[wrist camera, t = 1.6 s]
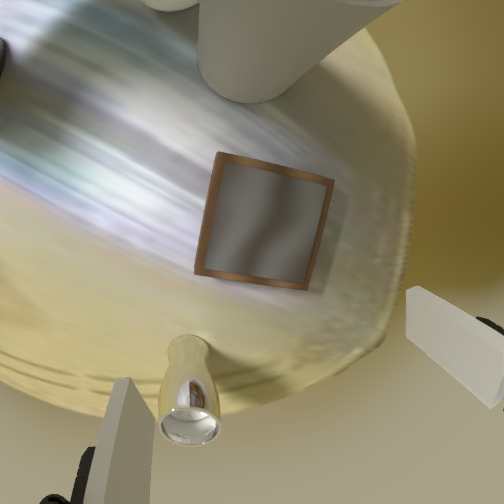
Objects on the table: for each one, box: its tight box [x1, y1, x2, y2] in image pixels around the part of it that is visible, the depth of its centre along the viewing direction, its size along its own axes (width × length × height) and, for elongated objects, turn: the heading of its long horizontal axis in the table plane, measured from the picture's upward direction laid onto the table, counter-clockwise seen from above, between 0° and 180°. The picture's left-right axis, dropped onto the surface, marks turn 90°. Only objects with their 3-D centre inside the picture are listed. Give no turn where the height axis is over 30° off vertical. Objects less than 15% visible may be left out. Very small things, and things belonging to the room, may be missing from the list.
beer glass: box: [158, 335, 221, 447], centre depth 33 cm, size 7×7×15 cm
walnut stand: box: [194, 151, 335, 291], centre depth 35 cm, size 14×14×4 cm
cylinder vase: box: [197, 0, 403, 104], centre depth 20 cm, size 12×12×25 cm
